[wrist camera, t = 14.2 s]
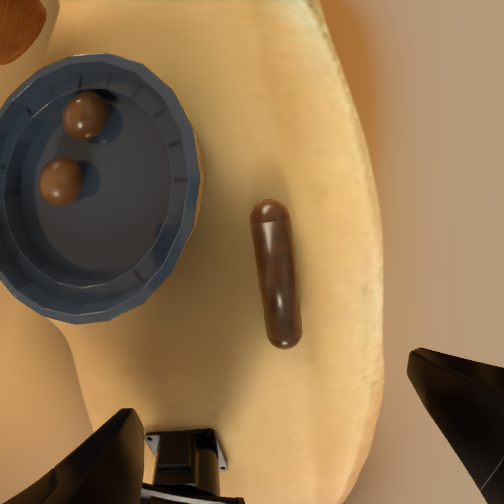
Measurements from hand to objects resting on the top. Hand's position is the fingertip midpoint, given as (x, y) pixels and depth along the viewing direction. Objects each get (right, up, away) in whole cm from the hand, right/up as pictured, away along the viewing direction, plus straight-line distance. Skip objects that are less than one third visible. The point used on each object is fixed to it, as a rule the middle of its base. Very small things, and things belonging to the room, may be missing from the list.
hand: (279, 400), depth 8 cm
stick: (+1, +3, +12) cm, 12 cm away
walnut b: (-12, +13, +5) cm, 18 cm away
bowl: (-11, +9, +9) cm, 17 cm away
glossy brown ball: (-13, +9, +6) cm, 17 cm away
